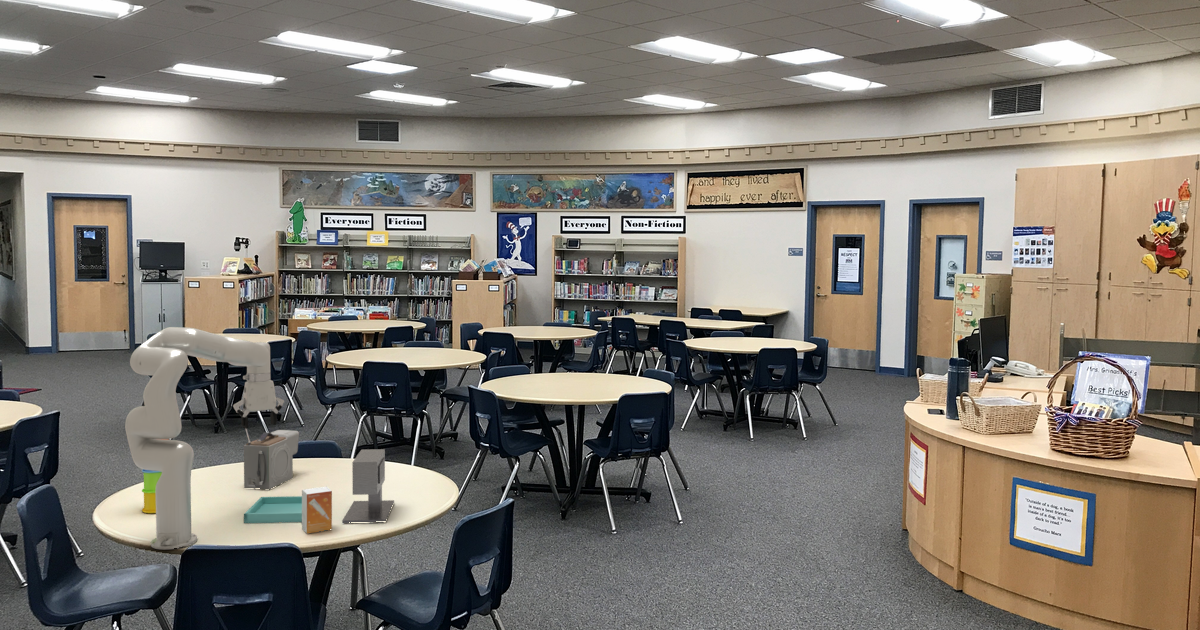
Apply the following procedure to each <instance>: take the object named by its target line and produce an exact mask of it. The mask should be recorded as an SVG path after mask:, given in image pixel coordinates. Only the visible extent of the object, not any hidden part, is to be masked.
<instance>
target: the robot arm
mask: <svg viewBox="0 0 1200 630" xmlns="http://www.w3.org/2000/svg"><path fill="white" fill-rule="evenodd" d="M188 356H190V357H195V358H200V359H204V360H208V361H211V362H220V363H221V362H222V363H228V364H230V365H232V366H236V367H246V374H245V375H243V376H242V379H243V380H246V381H245V382H244V387H243V396H242V399H241V400H239V401H238V402H236V403H234V404H233V405H232V406H233V409H234V410H235V413H237V415H239V416H240V417H241V421H240V422H241V423H240V424H241V426H242V428H243V429H244V430H246V429H247V430H248V428H249V417H248V415H249V414H250V412H262V411H267V410H268V411H269V410H270V414H269V416H270V424H271V425H273V426H275V425H276V424H277V422H278V413H279V411H280V410H282V408H283V406H284V403H285V400H284V399H282V398H279V397H278V396H276V389H275V384H274V381H273V380H271V346H270V344H269V342H266V341H264V342H262V341H255V342H253V341H250V340H245V339H238V338H235V337H231V336H225V335H220V334H218V333H217V334H216V333H213V332H209V331H205V330H202V329H199V328H195V327H194V328H193V327H179V326H178V327H177V326H170V327H168V326H167V327H166V328H164V329H161V330H160V331H158V332H156V333H155V334H153V335H152V336H151V337H149V338H148V339H147V340H145V341H144V342H143V343H142V344H141V345H139V346H138V347H137V348H136V349H134V351H133V352H132V354H131V356H130V358H129V365H130V367H131V369H132V371H133V372H135V373H136V374H138V375H141V376H152V377H151V378H150V379H149V381H148V382H147V383H146V386H145V388H144V390H143V395H142V396H143V397H142V399H143V403H144V405H142V406H141V405H140V406H136V407H135V408H134V407H133V408H132V409H131V410H130V411H129V413H128V414H127V416H126V419H125V424H124V426H125V434H126V438H127V442H128V446H129V451H130V455H131V458H132V461H133V463H134V464H135V466H136V467H137V468H139V469H141V470H143V469H144V470H152V471H160V472H162V474H161V476H160V478H159V480H158V482H157V484H156V490H155V492H156V513H155V525H156V528H155V530H156V531H155V532H156V535H155V536H156V537H155V538H153V539H152V540H151V541H150V546H151V548H153V549H156V550H161V551H162V550H164V551H167V550H175V549H174V548H177V549H180V548H179V547H182V546H186V547H189V546H192V545H194V544H195V543H196V542H197V541H198V535H197V534H195V533H192V491H191V488H192V487H191V484H192V483H191V482H192V481H191V479H192V478H191V477H192V468H193V464H194V459H195V458H194V457H195V452H194V450H193V447H192V446H191V445H190V444H189V443H187V442H185V441H182V440H176V439H174V438H176V437H178V436H179V435H180V433H181V432H182V429H183V428H182V418H181V415H180V413H181V412H180V409H179V405H178V401H177V394H176V390H177V386H178V383H179V381H180V379H181V377H183V375H184V373H185V371H186V369H187V368H188V364H189V358H188ZM277 402H278V403H277ZM241 406H242V407H243V410H242V409H240V407H241ZM241 410H242V411H241ZM164 439H169V440H164ZM191 544H192V545H191ZM188 545H189V546H188Z"/></svg>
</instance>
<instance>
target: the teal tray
mask: <svg viewBox="0 0 1200 630" xmlns="http://www.w3.org/2000/svg"><path fill="white" fill-rule="evenodd" d="M279 522H282V523H302V495H297V496H295V495H293V496H292V495H290V496H285V495H284V496H260V497H259V499H258V500H256V501H255V502H254V503H253V504H252V505H251V506H250V508H248V509H247V511H246V512H244V513H243V524H267V523H269V524H270V523H271V524H274V523H275V524H276V523H279Z"/></svg>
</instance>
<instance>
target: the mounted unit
mask: <svg viewBox="0 0 1200 630" xmlns="http://www.w3.org/2000/svg"><path fill="white" fill-rule="evenodd" d="M385 454H386V451H385V448H383V449H382V448H381V449H361V450H360V451H359V452H358V454H357V455H356V457H355V458H354V460H353V461H352V463H351V465H352V470H351V471H352V495H354V496H356V495H357V496H360V495H361V496H363V495H364V496H365V495H367V499H368V500H354V501H353V502H352V503H351V504H350V507H349V509H348V510H347V512H346V514H345V515H344V517H343V518H342V520H341V522H342V523H349V522H350V523H351V522H376V521H386V519H387V517H388V515H389V516H390V514H389V512H390V510H391V507H392V505H393V503H394V504H395V500H393V499H392V500H391V499H390V500H387V499H385V500H383V485H384V482H385V480H386V469H385V468H386V466H385V464H386V458H385ZM393 506H394V505H393ZM391 511H392V510H391ZM390 513H391V512H390ZM388 518H389V517H388ZM387 520H388V519H387ZM386 522H387V521H386ZM342 523H341V524H342Z"/></svg>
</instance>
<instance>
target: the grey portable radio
mask: <svg viewBox="0 0 1200 630" xmlns="http://www.w3.org/2000/svg"><path fill="white" fill-rule="evenodd" d="M240 410H241V411H243V410H242V409H240ZM245 432H246V437H247V441H248V442H247V443H246V444H244V445H243V482H244V483H243V486H244V487H243V488H260V489H271V488H273V487H275V486H277V485H279V484H281V483H283V482H285V481H287V482H288V480H289V481H291V480H293V479H294V478H293V477H294V475H293V474H294V473H293V472H294V470H293V469H294V468H293V464H294V463H293V458H294V457H293V456H294V455H296V454H297V453H298V450H299V439H300V437H299V436H300V432H299V431H298V430H290V429H277V430H274V431H271V432H263V433H262V434H261V435H260V437H259V438H258V439H255V440H252V441H251V440H250V437H249V433H248V428H247V429H245ZM292 478H293V479H292ZM290 479H291V480H290ZM285 483H286V482H285ZM283 484H284V483H283ZM281 485H282V484H281ZM279 486H280V485H279ZM277 487H278V486H277ZM275 488H276V487H275ZM273 489H274V488H273ZM271 490H272V489H271Z"/></svg>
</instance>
